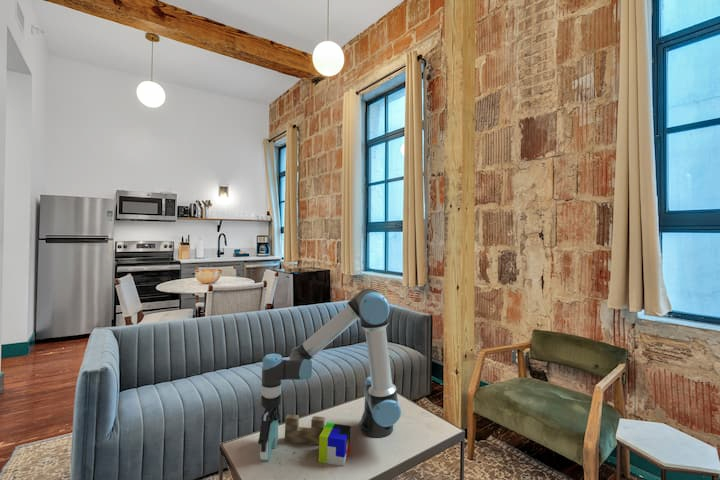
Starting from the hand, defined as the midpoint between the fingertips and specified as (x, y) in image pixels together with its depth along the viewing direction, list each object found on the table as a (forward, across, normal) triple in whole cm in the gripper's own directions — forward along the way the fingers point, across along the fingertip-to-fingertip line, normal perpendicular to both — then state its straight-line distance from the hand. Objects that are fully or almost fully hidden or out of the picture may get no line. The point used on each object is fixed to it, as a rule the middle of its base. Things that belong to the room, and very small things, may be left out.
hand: (269, 448), depth 138 cm
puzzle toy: (+2, -1, +26) cm, 26 cm away
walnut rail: (+1, -9, +12) cm, 15 cm away
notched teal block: (+1, 0, 0) cm, 1 cm away
